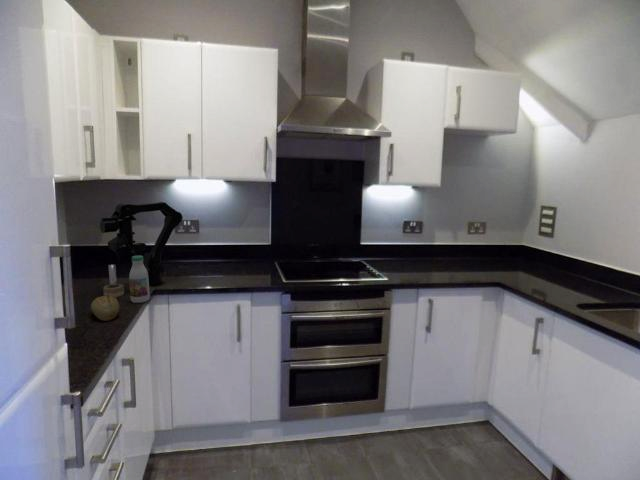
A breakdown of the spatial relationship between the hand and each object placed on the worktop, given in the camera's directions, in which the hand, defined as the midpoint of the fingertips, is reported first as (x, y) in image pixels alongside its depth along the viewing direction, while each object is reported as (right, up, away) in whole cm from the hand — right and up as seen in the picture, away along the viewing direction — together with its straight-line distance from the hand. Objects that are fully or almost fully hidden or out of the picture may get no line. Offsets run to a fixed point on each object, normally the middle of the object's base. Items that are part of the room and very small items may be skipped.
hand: (128, 263), depth 191 cm
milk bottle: (+12, -16, -13) cm, 23 cm away
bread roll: (+6, -20, -31) cm, 37 cm away
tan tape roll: (-4, -14, -6) cm, 16 cm away
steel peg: (-4, -14, -6) cm, 16 cm away
